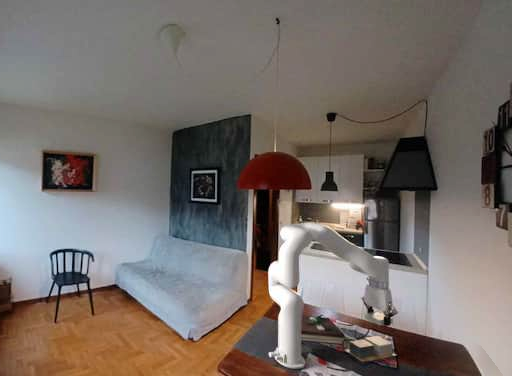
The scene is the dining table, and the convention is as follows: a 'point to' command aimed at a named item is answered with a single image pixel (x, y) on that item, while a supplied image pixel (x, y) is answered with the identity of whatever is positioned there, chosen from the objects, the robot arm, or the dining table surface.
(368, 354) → the grey book
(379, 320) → the white book
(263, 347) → the dining table surface
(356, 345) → the grey book
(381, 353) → the white book
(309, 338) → the decorative book
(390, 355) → the shelf board
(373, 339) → the white book
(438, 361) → the dining table surface
